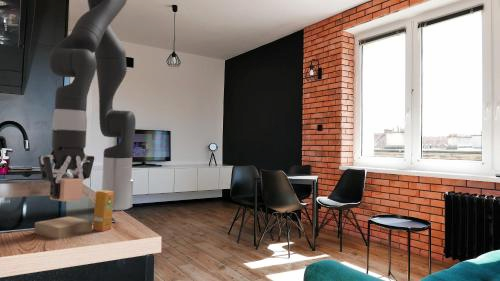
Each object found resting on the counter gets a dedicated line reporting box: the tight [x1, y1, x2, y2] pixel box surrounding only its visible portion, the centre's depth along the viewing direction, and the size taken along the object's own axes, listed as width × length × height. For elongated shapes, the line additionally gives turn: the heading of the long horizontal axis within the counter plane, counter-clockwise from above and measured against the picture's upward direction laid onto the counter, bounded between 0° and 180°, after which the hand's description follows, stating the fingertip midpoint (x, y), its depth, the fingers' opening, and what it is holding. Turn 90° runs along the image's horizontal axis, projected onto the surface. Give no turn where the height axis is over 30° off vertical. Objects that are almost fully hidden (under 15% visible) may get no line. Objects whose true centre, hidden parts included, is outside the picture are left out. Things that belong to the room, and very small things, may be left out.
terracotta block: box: [49, 177, 84, 202], centre depth 87 cm, size 5×5×5 cm
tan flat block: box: [34, 216, 93, 240], centre depth 87 cm, size 9×9×3 cm
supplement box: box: [92, 190, 114, 232], centre depth 91 cm, size 3×3×10 cm
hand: (66, 197), depth 87 cm, fingers closed on terracotta block, 5 cm apart
